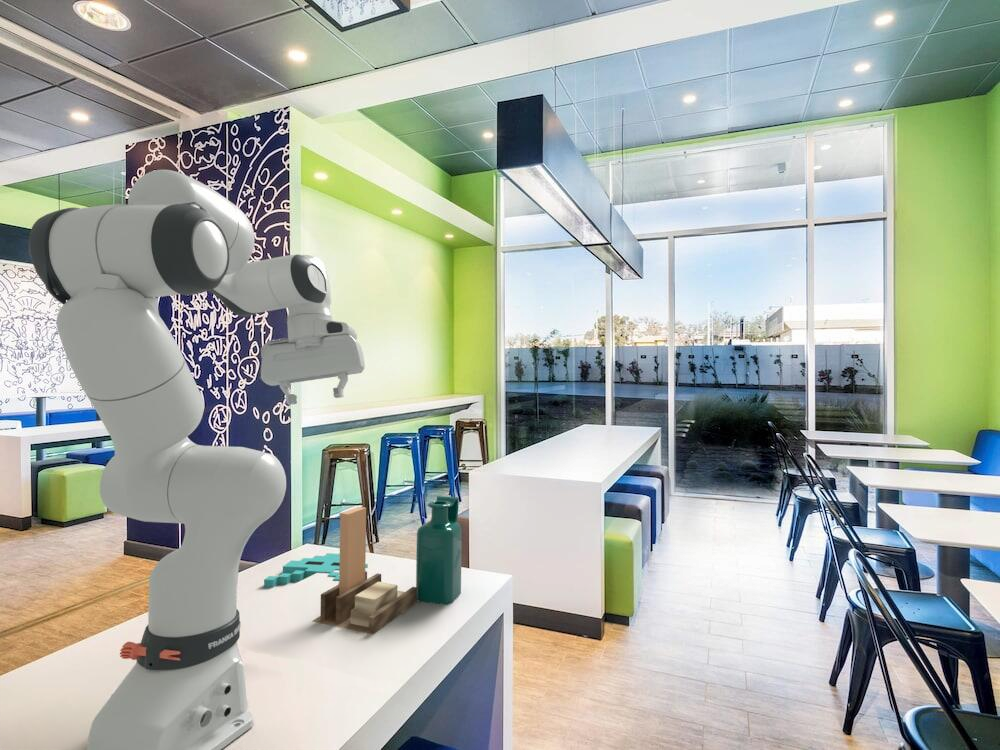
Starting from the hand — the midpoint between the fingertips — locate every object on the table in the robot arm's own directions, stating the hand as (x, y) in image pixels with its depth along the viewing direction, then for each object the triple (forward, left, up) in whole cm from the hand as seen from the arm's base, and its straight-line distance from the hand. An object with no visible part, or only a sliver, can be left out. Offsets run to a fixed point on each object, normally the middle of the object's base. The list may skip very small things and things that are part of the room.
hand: (315, 400), depth 110 cm
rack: (+4, -10, -44) cm, 45 cm away
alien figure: (+25, +11, -45) cm, 53 cm away
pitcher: (+16, -21, -44) cm, 52 cm away
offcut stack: (+4, -13, -43) cm, 45 cm away
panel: (+5, -6, -43) cm, 43 cm away
